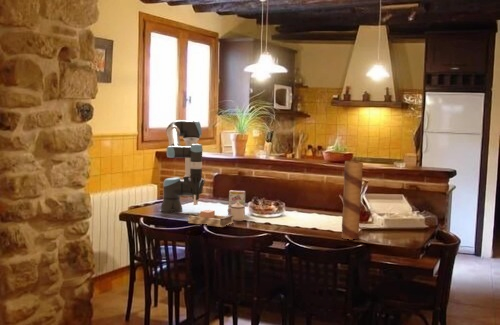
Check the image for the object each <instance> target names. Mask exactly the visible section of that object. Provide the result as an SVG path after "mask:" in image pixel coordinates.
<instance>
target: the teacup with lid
mask: <svg viewBox="0 0 500 325" xmlns="http://www.w3.org/2000/svg"><path fill="white" fill-rule="evenodd" d="M229 209H231V214H230V212H229ZM227 213H229V215H233V221H236V222H237V221H244V220H245V214H244V205H241V204H239V202H236V204H234V205H231V208H227ZM229 215H228V216H229Z"/></svg>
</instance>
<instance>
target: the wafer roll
mask: <svg viewBox="0 0 500 325" xmlns="http://www.w3.org/2000/svg"><path fill="white" fill-rule="evenodd" d="M363 166H364V164H363V162H361V161H357V160H352V161H351V160H345V161H344V173H343V194H342V206H343V208H342V214H341V215H342V218H341V220H342V222H341V239H342V238H343V239H342V240H347V239H349V240H348V241H353V239H355V240H358V239H359V238H360V236H359V233H360V218H361V196H362V186H363Z"/></svg>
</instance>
